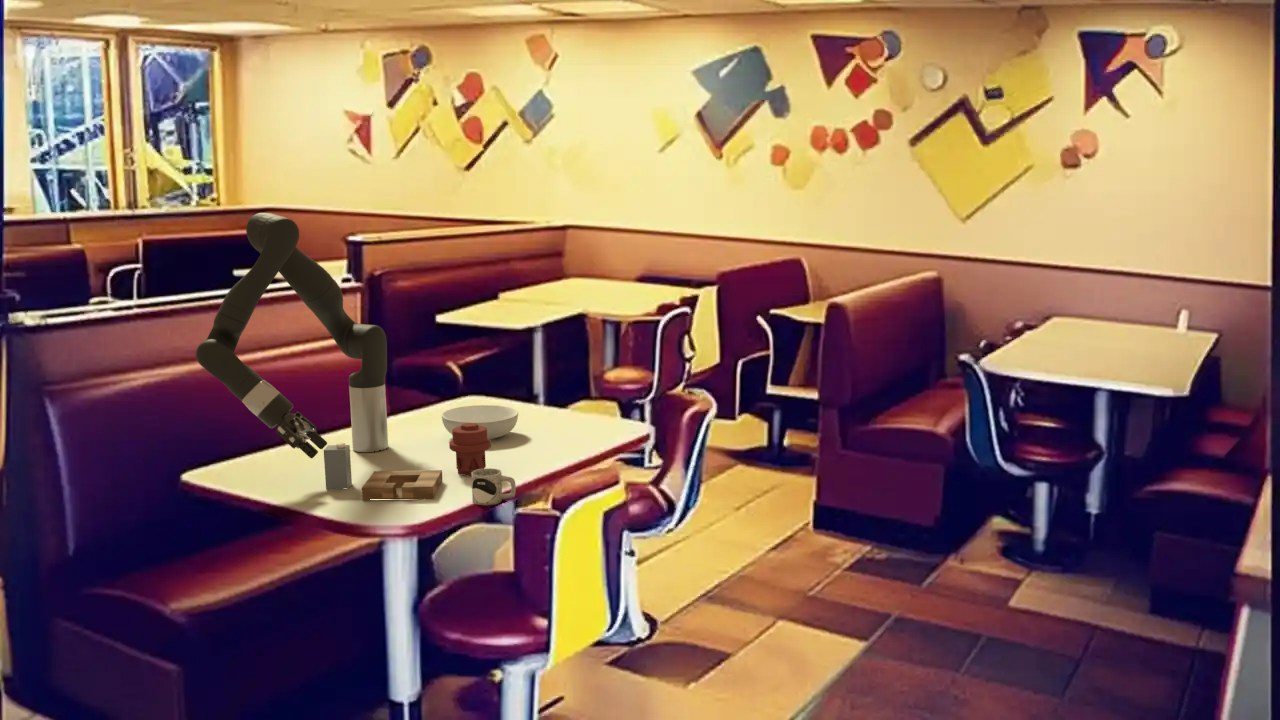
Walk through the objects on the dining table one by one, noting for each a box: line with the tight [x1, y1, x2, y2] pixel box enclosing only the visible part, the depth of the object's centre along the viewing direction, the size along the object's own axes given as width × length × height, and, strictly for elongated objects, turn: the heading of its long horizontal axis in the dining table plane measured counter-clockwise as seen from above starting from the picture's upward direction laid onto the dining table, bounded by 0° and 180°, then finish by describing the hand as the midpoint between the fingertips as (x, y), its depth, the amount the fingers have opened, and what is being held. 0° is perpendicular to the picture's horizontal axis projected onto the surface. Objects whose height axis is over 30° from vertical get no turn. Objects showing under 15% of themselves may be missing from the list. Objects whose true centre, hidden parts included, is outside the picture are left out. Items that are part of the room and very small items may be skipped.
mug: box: [471, 467, 517, 506], centre depth 262 cm, size 10×7×7 cm, turn 80°
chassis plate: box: [361, 469, 443, 501], centre depth 271 cm, size 14×16×3 cm
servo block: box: [323, 442, 353, 490], centre depth 275 cm, size 4×5×10 cm
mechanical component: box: [448, 423, 492, 478], centre depth 284 cm, size 12×10×10 cm
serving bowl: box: [441, 404, 519, 440], centre depth 322 cm, size 21×21×7 cm
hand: (320, 450), depth 274 cm, fingers open, 8 cm apart
